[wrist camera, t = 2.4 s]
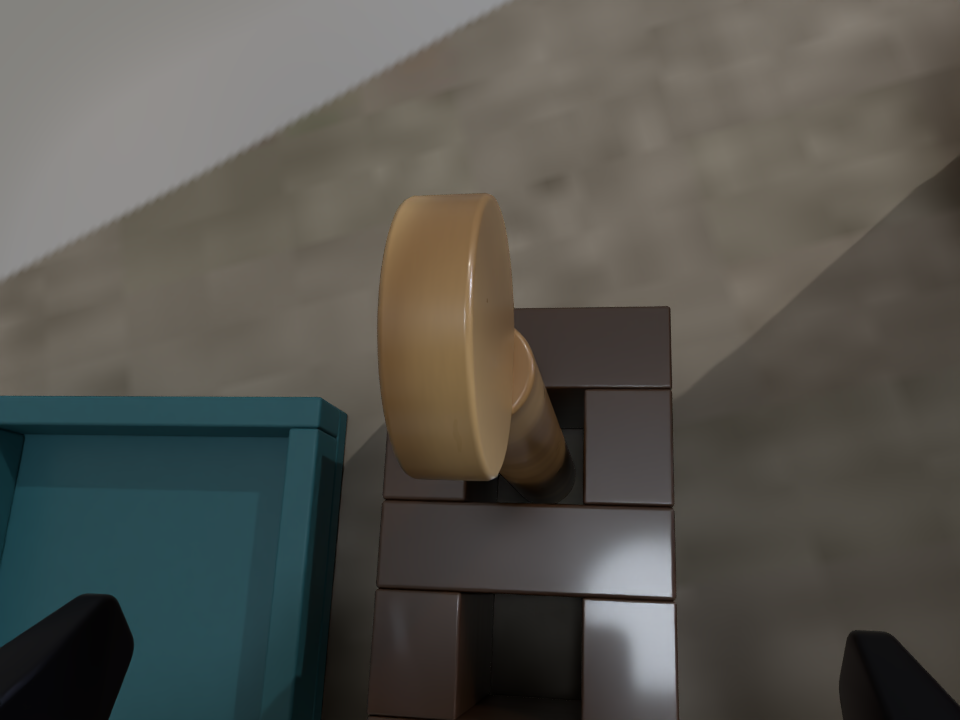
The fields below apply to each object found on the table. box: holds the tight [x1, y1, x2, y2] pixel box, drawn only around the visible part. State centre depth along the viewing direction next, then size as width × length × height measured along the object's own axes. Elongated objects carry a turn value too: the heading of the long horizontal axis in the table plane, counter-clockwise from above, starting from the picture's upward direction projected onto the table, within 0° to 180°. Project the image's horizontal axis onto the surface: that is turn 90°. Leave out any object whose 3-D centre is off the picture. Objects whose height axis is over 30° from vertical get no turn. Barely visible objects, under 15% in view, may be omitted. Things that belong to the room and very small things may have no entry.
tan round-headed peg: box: [377, 193, 575, 504], centre depth 15 cm, size 3×2×14 cm, turn 178°
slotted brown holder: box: [367, 306, 679, 720], centre depth 19 cm, size 10×6×4 cm, turn 178°
